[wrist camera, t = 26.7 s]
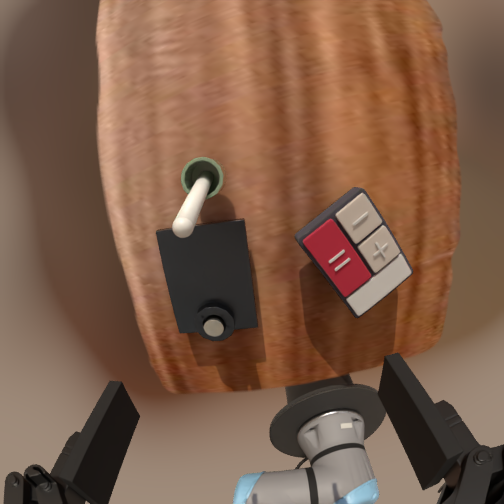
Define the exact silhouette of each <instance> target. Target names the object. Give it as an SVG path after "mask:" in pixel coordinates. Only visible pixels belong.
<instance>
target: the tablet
mask: <svg viewBox="0 0 504 504" xmlns="http://www.w3.org/2000/svg"><path fill="white" fill-rule="evenodd" d="M156 235H157V240H158V245H159V250H160V255H161V260H162V264H163V269H164V273H165V278H166V282H167V286H168V290H169V294H170V298H171V302H172V306H173V310H174V314H175V318H176V321H177V325H178V329H179V332H180V333H194V332H198V333H199V334H200V335H201V336H202V337H203V338H206V339H209V340H211V341H221V340H224V339H226V338H228V337H229V336H231V335H232V333H233V331H234V330H235V329H246V328H256V327H258V322H257V314H256V306H255V298H254V290H253V283H252V275H251V267H250V259H249V251H248V243H247V235H246V227H245V219H244V218H243V219H235V220H226V221H218V222H211V223H203V224H195V227H194V229H193V232H192V233H191V235H189V236H188V237H185V238H180V237H178V236H176V235H175V234H174V232H173V229H172V228H167V229H160V230H157V231H156ZM212 315H216V316H219V317H221V318H222V319H223V321H224V331H223V333H222V334H221V335H219V336H210V335H208V334H207V333H206V332H205V330H204V324H205V320H206V318H207V317H209V316H212Z"/></svg>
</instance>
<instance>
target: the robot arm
mask: <svg viewBox="0 0 504 504" xmlns="http://www.w3.org/2000/svg"><path fill="white" fill-rule="evenodd" d="M378 396H379V398H380V400H381V402H382V404H383V406H384V408H385V410H386V412H387V414H388V416H389V418H390V420H391V422H392V424H393V426H394V428H395V430H396V433H397V434H398V437H399V439H400V441H401V443H402V445H403V447H404V449H405V452H406V454H407V456H408V458H409V460H410V462H411V465H412V467H413V469H414V471H415V473H416V476H417V478H418V480H419V483H420V484H421V487H422V490H425V489H427V488H429V487H432V486H433V485H436V484H438V483H439V482H440V480H441V479H442V478H444V479H445V483H444V484H443V485H442V486H441V488H440V489H439V490H438V493H440V492H441V491H442V492H441V494H440V497H439V500H438V502H437V504H504V445H500V446H497V447H493V448H490V447H488V446H485V445H480V444H479V443H478V442H477V441H476V439H475V438H474V437H473V435H472V433H471V432H470V431H469V429H468V427H467V426H466V425H465V423H464V422H463V421H462V419H461V417H460V416H459V415H458V413H457V412H456V410H455V409H454V407H453V406H452V405H451V404H449V403H448V402H446V401H444V400H442V401H440V402H438V403H436V404H434V403H433V401H432V400H431V398H430V397H429V395H428V394H427V392H426V391H425V389H424V388H423V387H422V385H421V384H420V382H419V381H418V379H417V378H416V377H415V375H414V374H413V372H412V371H411V369H410V368H409V367H408V365H407V364H406V362H405V361H404V360H403V358H402V357H401V356H400V354H399V353H395V354H391V355H387V356H385V358H384V364H383V370H382V376H381V381H380V386H379V391H378ZM139 418H140V415H139V413H138V412H137V410H136V408H135V406H134V404H133V403H132V401H131V399H130V397H129V395H128V393H127V391H126V389H125V387H124V385H123V383H122V382H118V381H110V382H109V383H108V385H107V387H106V389H105V390H104V392H103V394H102V395H101V397H100V399H99V401H98V402H97V404H96V406H95V408H94V409H93V411H92V413H91V415H90V417H89V418H88V420H87V422H86V424H85V426H84V428H83V429H82V431H81V433H80V432H75V433H74V434H73V435H72V436H70V438H69V439H68V441H67V442H66V444H65V447H64V448H63V450H62V453H61V454H60V455H59V457H58V459H57V461H56V463H55V465H54V467H53V469H52V471H51V473H50V474H49V473H48V472H47V471H46V470H45V469H44V468H42V467H41V466H40V465H37V464H36V465H31V466H29V467H28V468H27V469H26V470H25V472H24V477H23V476H22V475H21V474H20V473H18V472H11V473H10V474H8V476H7V477H6V480H5V490H4V504H85V501H87V502H89V503H90V504H108V503H109V500H110V497H111V494H112V491H113V488H114V485H115V482H116V480H117V477H118V474H119V471H120V468H121V466H122V463H123V460H124V457H125V455H126V452H127V449H128V446H129V444H130V441H131V439H132V436H133V433H134V430H135V428H136V425H137V423H138V420H139ZM364 427H365V425H364V420H363V417H362V415H361V413H360V412H358V411H357V410H354V409H350V408H337V409H331V410H327V411H324V412H321V413H319V414H316V415H314V416H312V417H311V418H309V419H308V420H306V421H305V422H304V423H303V424H302V425H301V426H300V427H299V429H298V431H297V440H298V443H299V445H300V447H301V449H302V450H303V452H304V453H305V455H306V456H307V457H306V458H305V459H303V460H302V461H301V462H300V463H299V464H298V465H297V467H296V468H295V469H294V470H286V471H274V472H265V471H263V472H261V473H252V474H246V475H243V476H242V477H241V478H240V479H239V481H238V483H237V486H236V489H235V493H234V500H233V504H374V503H375V502H376V500H377V499H378V497H379V491H378V487H377V480H376V479H375V476H374V473H373V470H372V467H371V465H370V461H369V459H368V456H367V453H366V451H365V448H364ZM308 459H309V461H310V464H311V467H309V468H301V469H299V467H300V466H301V465H302V464H303V463H304V462H305V461H307V460H308Z"/></svg>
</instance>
